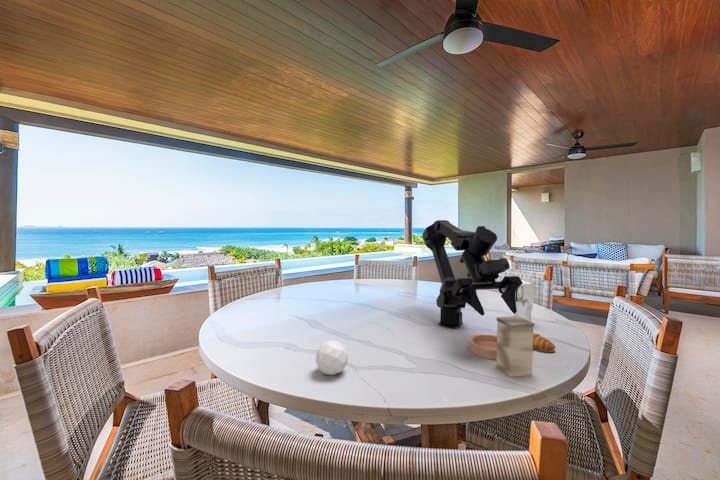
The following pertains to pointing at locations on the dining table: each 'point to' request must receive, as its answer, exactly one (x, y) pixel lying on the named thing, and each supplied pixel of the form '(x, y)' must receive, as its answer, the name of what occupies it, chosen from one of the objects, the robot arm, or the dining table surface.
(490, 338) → the terracotta bowl
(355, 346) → the dining table surface
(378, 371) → the dining table surface
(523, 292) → the beer glass
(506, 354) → the lidded square box
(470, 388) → the dining table surface
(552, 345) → the pastry
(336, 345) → the geometric ball
